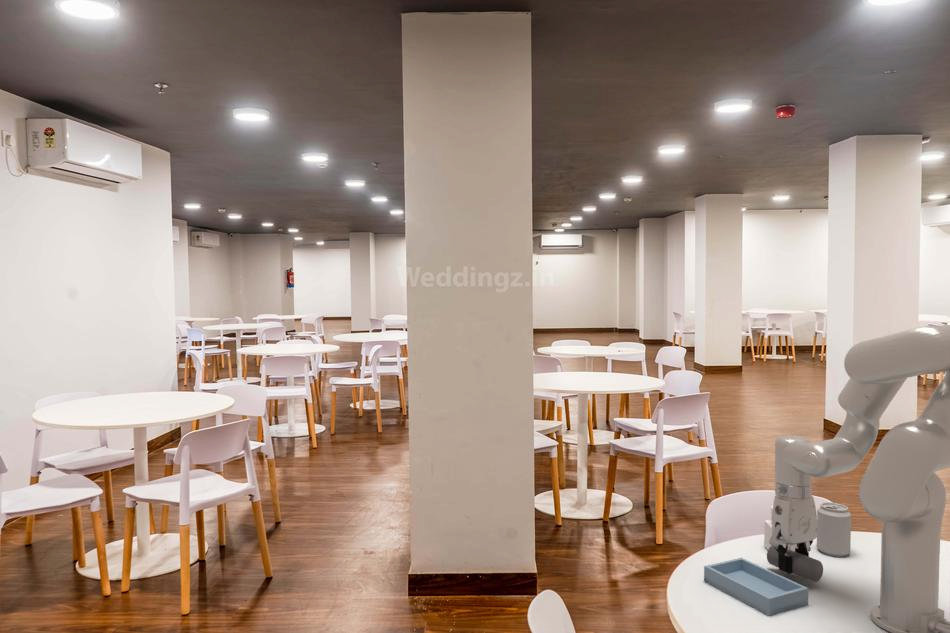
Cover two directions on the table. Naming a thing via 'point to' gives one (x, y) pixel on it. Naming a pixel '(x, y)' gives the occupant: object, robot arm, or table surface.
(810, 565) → the cylinder
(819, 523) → the can
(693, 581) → the table surface
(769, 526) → the medicine bottle
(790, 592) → the trough
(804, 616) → the table surface
